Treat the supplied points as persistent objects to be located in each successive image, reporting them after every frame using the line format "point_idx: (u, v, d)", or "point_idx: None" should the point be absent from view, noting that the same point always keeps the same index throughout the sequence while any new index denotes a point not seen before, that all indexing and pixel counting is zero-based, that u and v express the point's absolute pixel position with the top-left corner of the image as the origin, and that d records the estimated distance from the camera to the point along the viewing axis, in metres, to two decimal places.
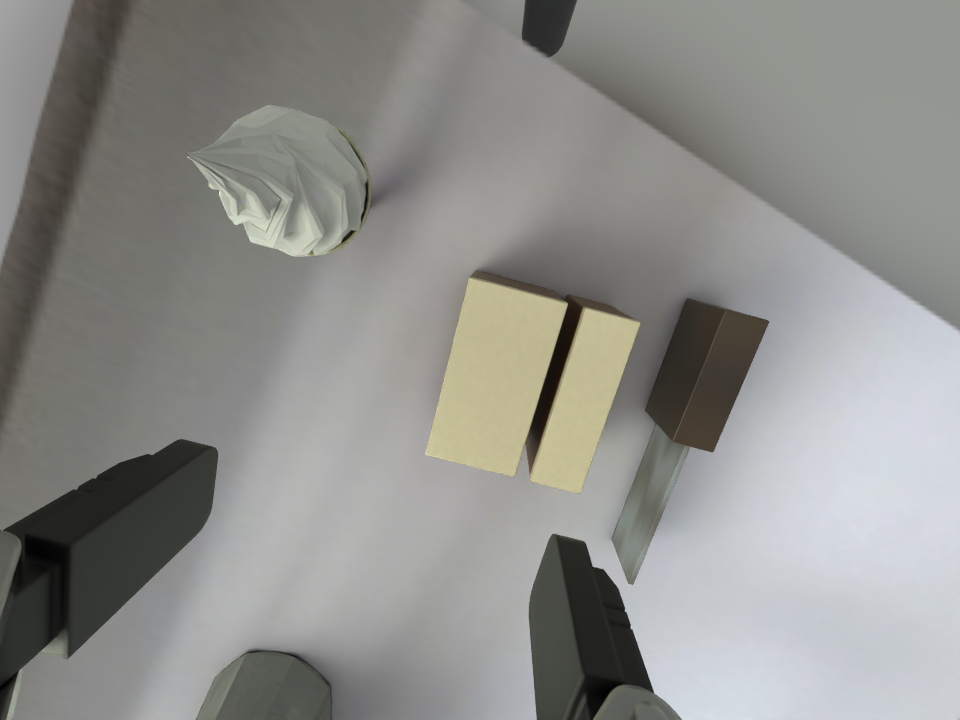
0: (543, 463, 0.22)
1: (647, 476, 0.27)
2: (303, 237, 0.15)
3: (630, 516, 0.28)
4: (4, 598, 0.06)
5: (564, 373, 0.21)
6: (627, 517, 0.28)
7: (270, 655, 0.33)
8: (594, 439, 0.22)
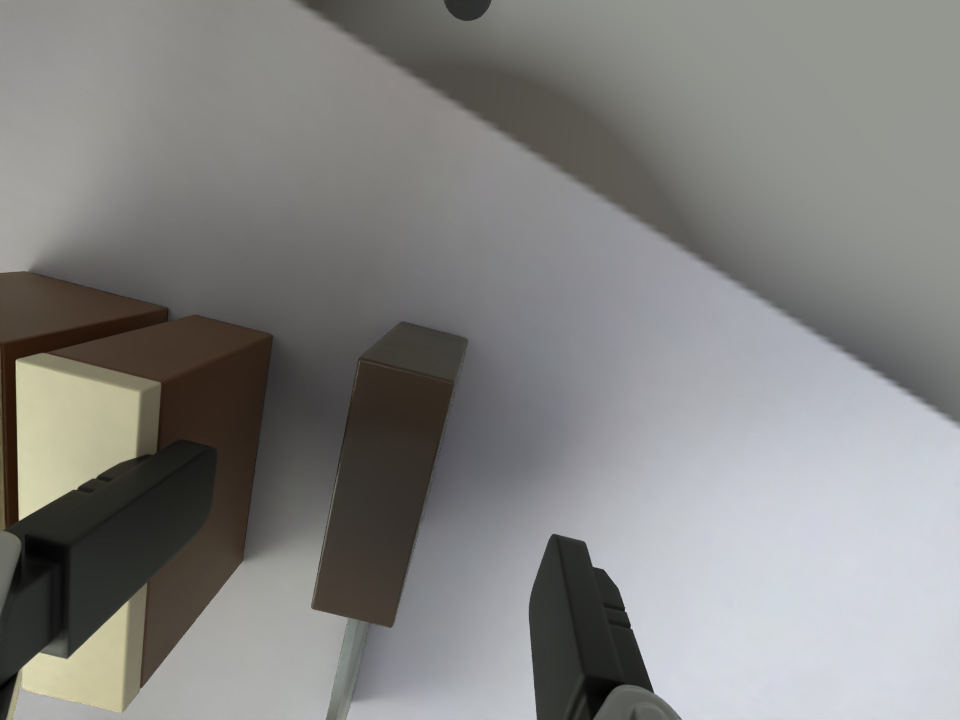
0: (35, 659, 0.11)
1: None
2: None
3: None
4: (4, 598, 0.06)
5: (22, 492, 0.10)
6: None
7: None
8: (117, 618, 0.11)
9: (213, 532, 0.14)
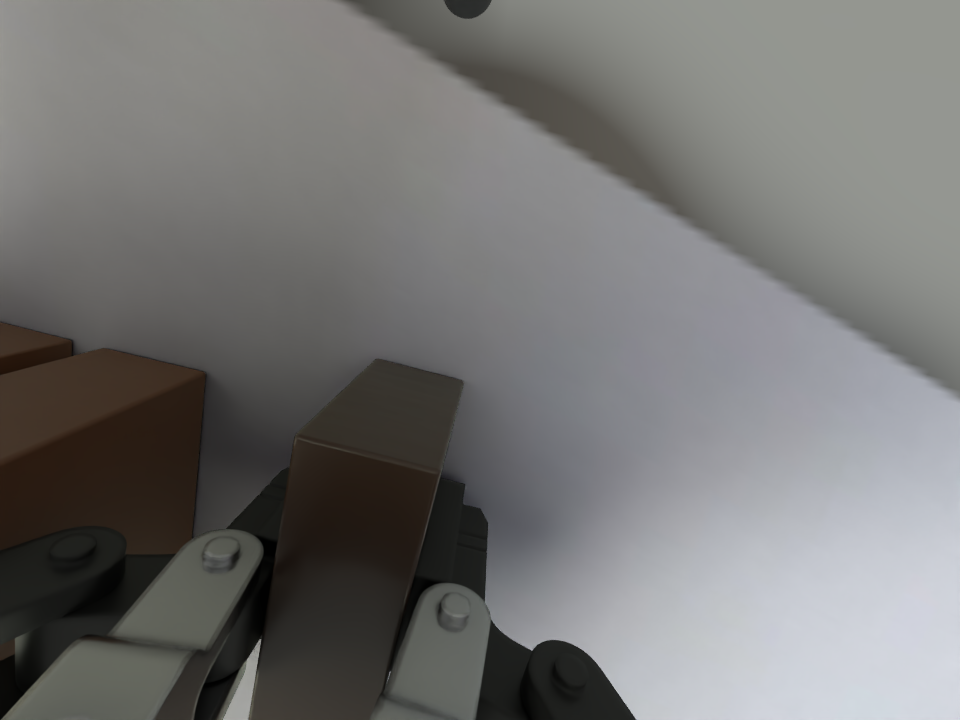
0: None
1: None
2: None
3: None
4: (234, 605, 0.06)
5: None
6: None
7: None
8: None
9: None
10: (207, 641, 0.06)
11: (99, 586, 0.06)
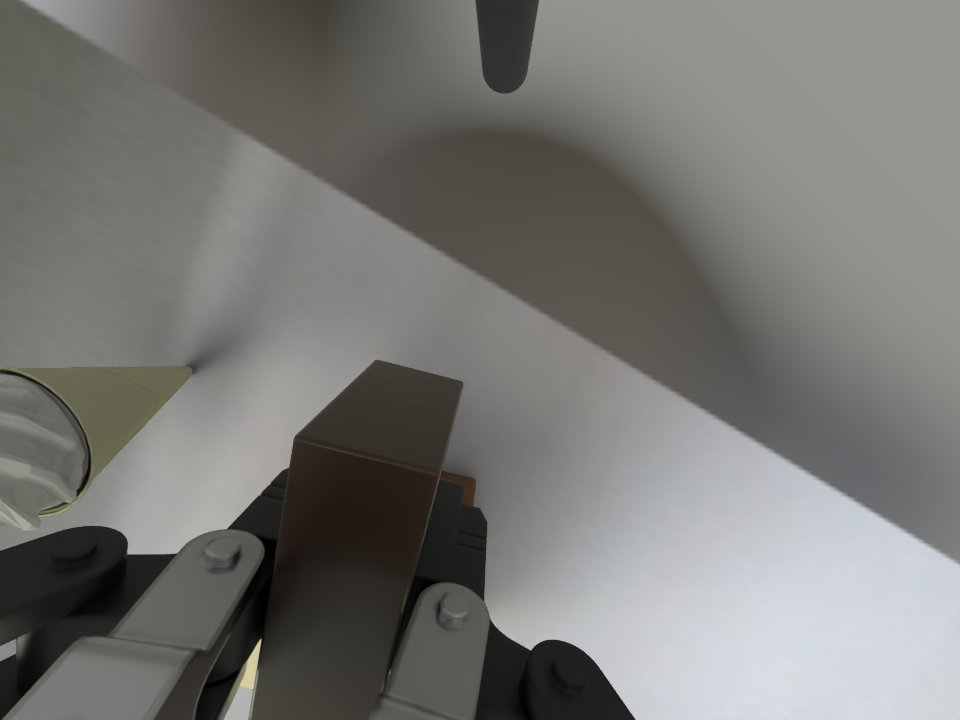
0: None
1: None
2: None
3: None
4: (234, 606, 0.06)
5: None
6: None
7: None
8: None
9: None
10: (208, 641, 0.06)
11: (100, 586, 0.06)
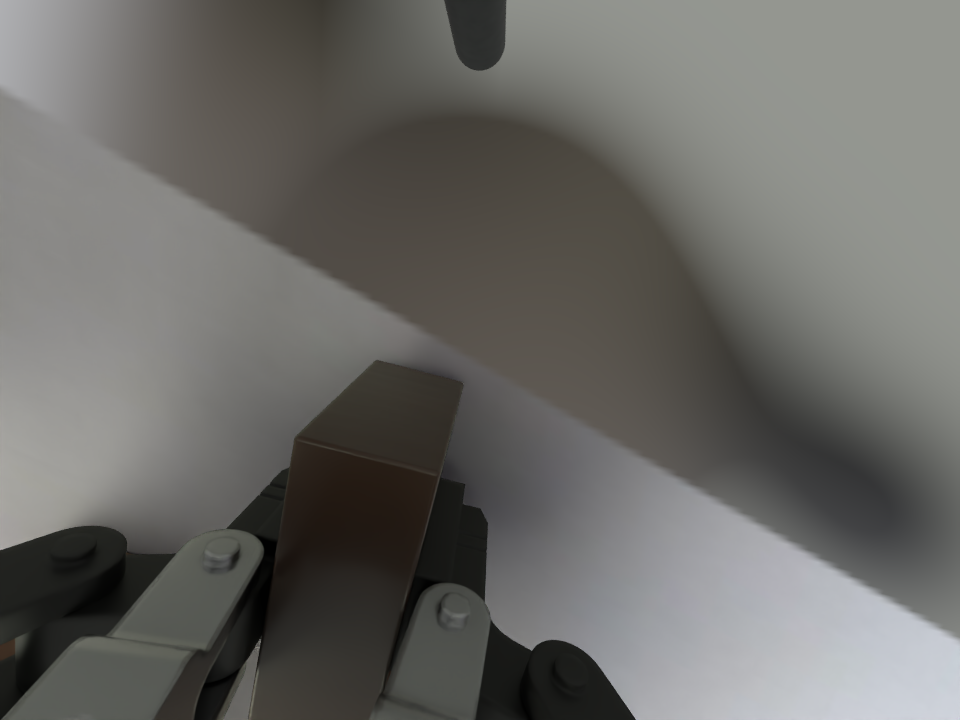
0: None
1: None
2: None
3: None
4: (234, 605, 0.06)
5: None
6: None
7: None
8: None
9: None
10: (207, 641, 0.06)
11: (99, 586, 0.06)
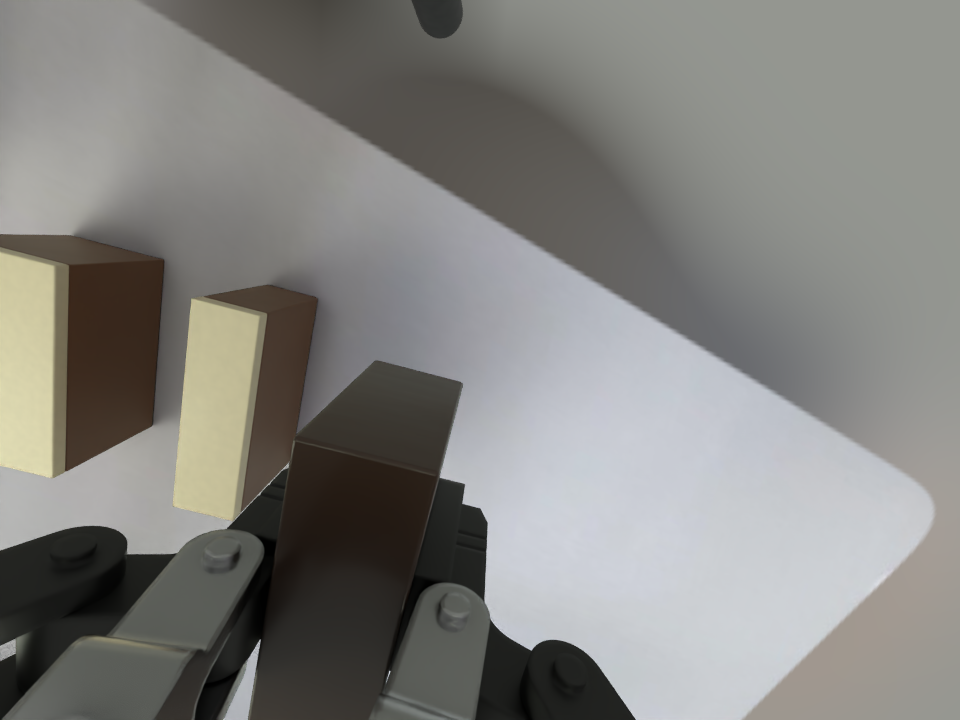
0: (182, 485, 0.19)
1: None
2: None
3: None
4: (234, 606, 0.06)
5: (185, 377, 0.18)
6: None
7: None
8: (235, 456, 0.18)
9: (280, 425, 0.21)
10: (208, 641, 0.06)
11: (99, 586, 0.06)
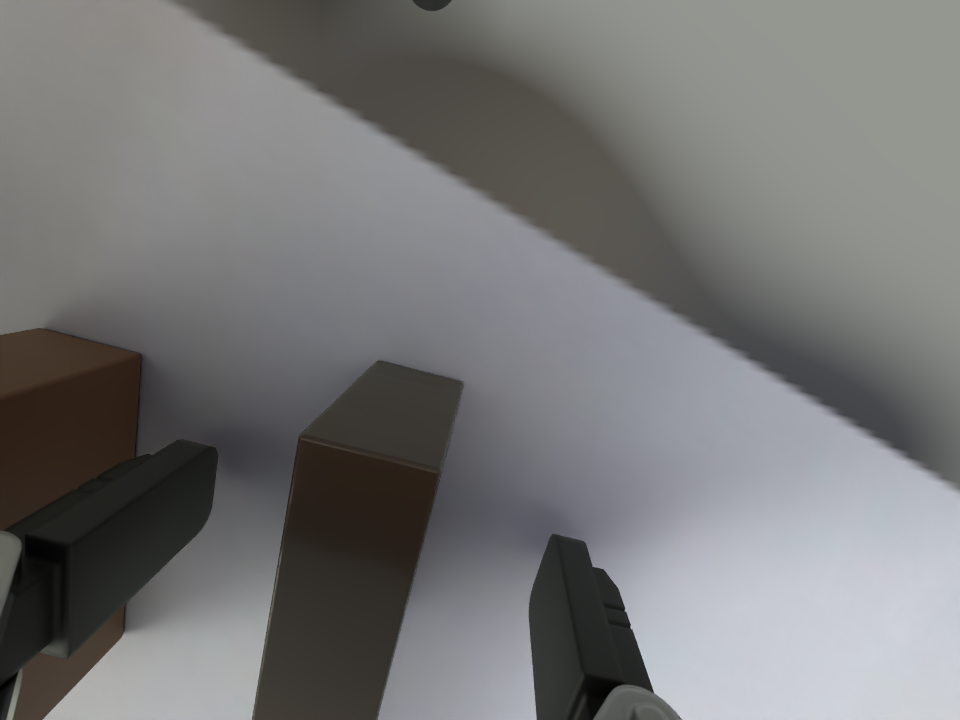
0: None
1: None
2: None
3: None
4: (3, 598, 0.06)
5: None
6: None
7: None
8: None
9: None
10: None
11: None
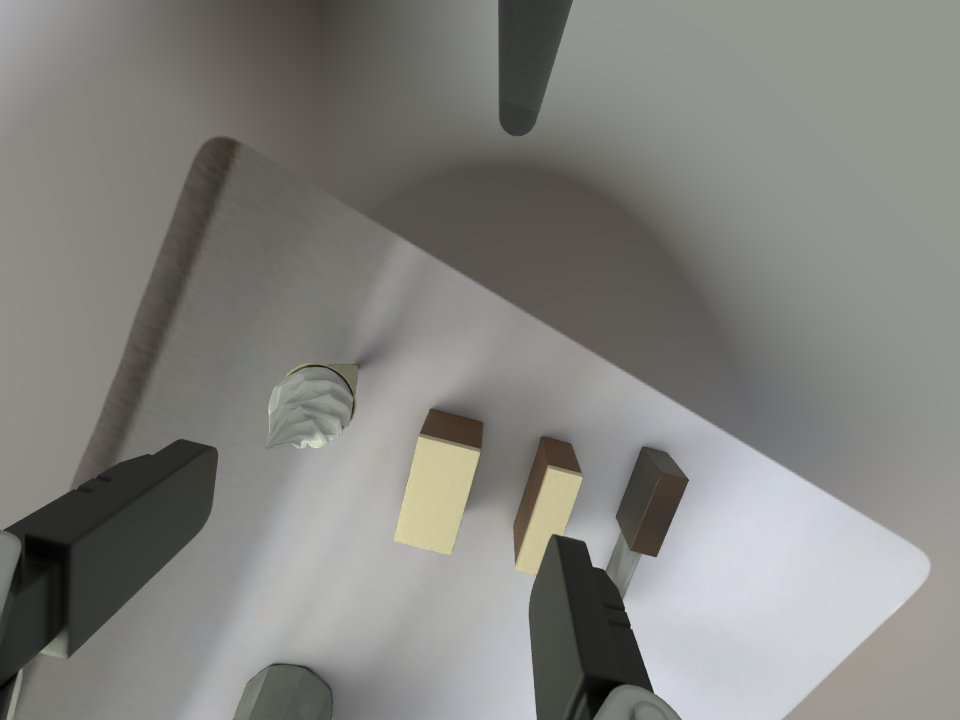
0: (523, 559, 0.34)
1: (617, 563, 0.39)
2: (317, 441, 0.28)
3: None
4: (4, 598, 0.06)
5: (536, 505, 0.33)
6: None
7: (287, 667, 0.45)
8: None
9: None
10: None
11: None
